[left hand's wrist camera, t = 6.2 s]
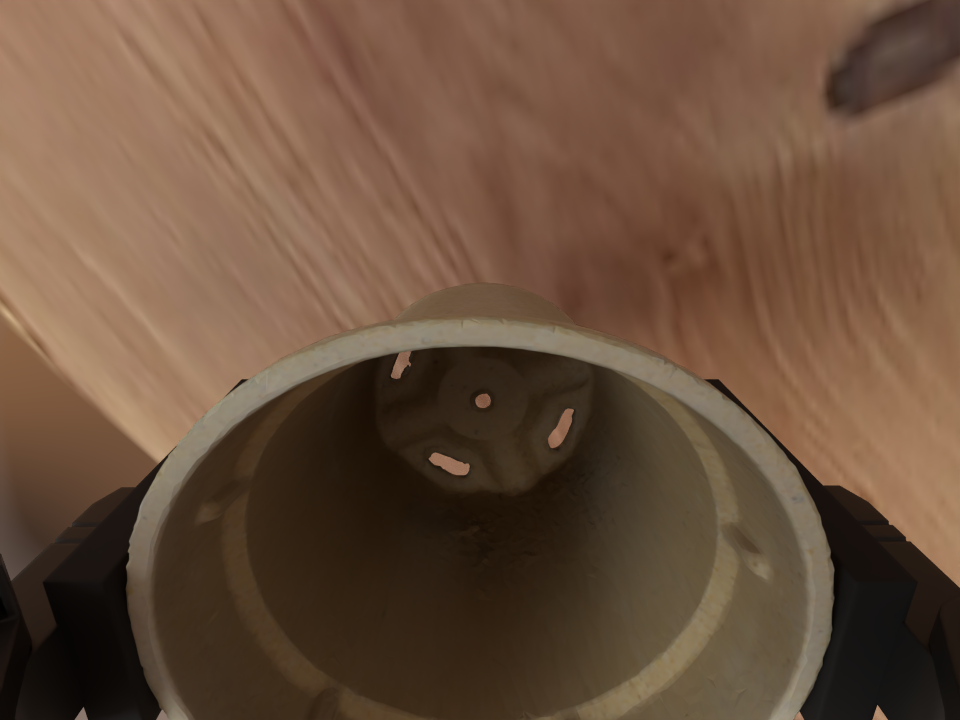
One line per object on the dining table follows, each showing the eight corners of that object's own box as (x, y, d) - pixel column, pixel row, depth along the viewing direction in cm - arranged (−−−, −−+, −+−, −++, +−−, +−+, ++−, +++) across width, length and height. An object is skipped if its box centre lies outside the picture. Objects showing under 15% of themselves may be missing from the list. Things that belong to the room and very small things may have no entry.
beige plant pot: (323, 535, 18) (190, 872, 10) (286, 216, 14) (32, 319, 6) (635, 536, 18) (766, 873, 10) (671, 216, 14) (922, 319, 6)
